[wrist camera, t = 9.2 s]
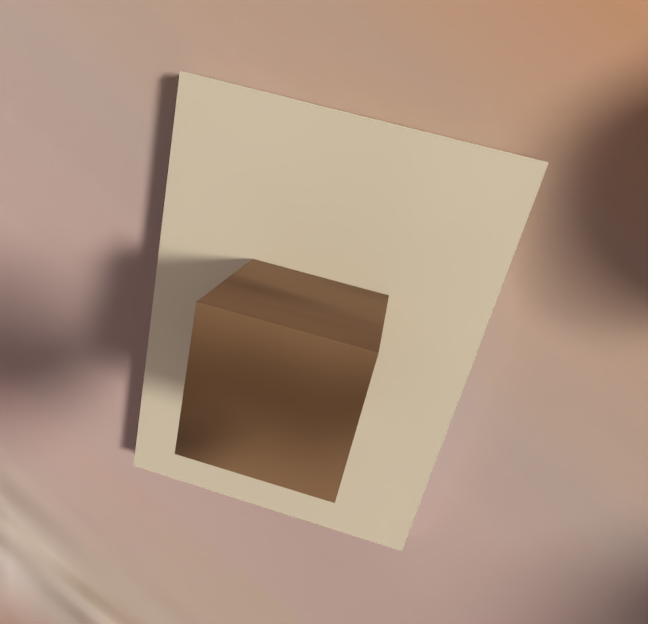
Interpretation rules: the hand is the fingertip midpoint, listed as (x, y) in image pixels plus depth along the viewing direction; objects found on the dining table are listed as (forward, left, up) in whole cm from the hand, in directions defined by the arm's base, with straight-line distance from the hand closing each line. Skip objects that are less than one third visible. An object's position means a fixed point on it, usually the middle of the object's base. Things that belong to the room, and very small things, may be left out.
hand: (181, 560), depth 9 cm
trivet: (0, 0, -12) cm, 12 cm away
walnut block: (0, 0, -11) cm, 11 cm away
